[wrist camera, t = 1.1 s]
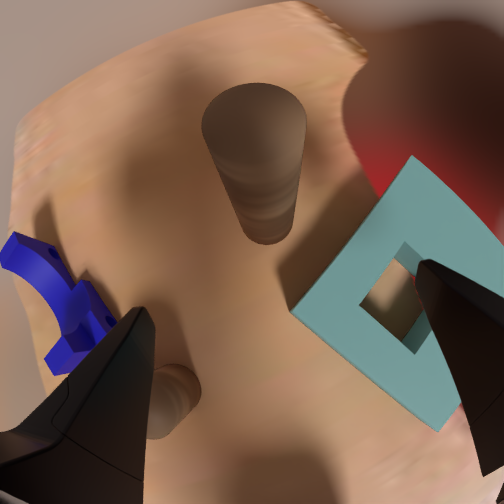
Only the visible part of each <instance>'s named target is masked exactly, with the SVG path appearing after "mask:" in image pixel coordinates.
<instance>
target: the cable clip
mask: <svg viewBox="0 0 504 504" xmlns="http://www.w3.org/2000/svg"><path fill="white" fill-rule="evenodd" d="M0 263H1V266H2V268H4V269H7V270H10V271H12V272H14V273H15V274H17V275H19V276H20V277H22V278H23V279H25V280H26V281H27V282H29V283H30V284H31V285H32V286H33V287H34V288H35V289H36V290H37V291H38V292H39V293H40V294H41V295H42V296H43V298H44V299H45V300H46V301H47V303H48V304H49V306H50V307H51V309H52V310H53V312H54V314H55V316H56V318H57V320H58V323H59V326H60V330H61V336H62V337H61V338H60V339H59V340H58V342H57V343H56V344H55V345H54V347H53V348H52V349H51V350H50V352H49V353H48V354H47V355H46V357H45V358H44V360H45V362H46V363H47V365H48V367H49V368H50V370H51V372H52V373H53V375H54V376H57V375H61V374H66V373H71V372H72V370H73V369H74V368H75V367H76V366H77V365H78V364H79V363H80V362H81V361H82V360H83V359H84V358H85V356H86V355H87V354H88V353H89V352H90V351H91V350H92V349H93V348H94V347H95V346H96V345H97V344H98V343H99V342H100V341H101V340H102V338H103V337H104V336H105V335H106V334H107V333H108V332H109V331H110V330H111V329H112V328H113V327H114V326H115V325H116V324H117V321H116V320H115V318H114V317H113V315H112V314H111V313H110V311H109V310H108V308H107V307H106V305H105V304H104V302H103V301H102V300H101V298H100V297H99V295H98V293H97V292H96V290H95V289H94V287H93V286H92V284H91V283H90V281H85V280H80V281H79V283H78V284H77V285H75V283H74V281H73V280H72V278H71V276H70V275H69V273H68V271H67V269H66V267H65V266H64V264H63V262H62V260H61V258H60V256H59V254H58V253H57V251H56V249H55V247H54V246H52V245H50V244H47V243H44V242H41V241H39V240H36V239H33V238H31V237H28V236H25V235H23V234H20V233H18V232H15V231H14V232H13V233H12V235H11V236H10V238H9V239H8V241H7V242H6V244H5V245H4V247H3V249H2V250H1V252H0Z"/></svg>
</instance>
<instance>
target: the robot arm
mask: <svg viewBox="0 0 504 504" xmlns="http://www.w3.org/2000/svg"><path fill="white" fill-rule="evenodd" d="M415 286H416V289H417V292H418V294H419V297H420V299H421V302H422V305H423V308H424V310H425V313H426V316H427V319H428V321H429V324H430V326H431V328H432V331H433V333H434V335H435V337H436V339H437V342H438V344H439V346H440V348H441V351H442V353H443V355H444V358H445V360H446V363H447V365H448V368H449V370H450V373H451V375H452V378H453V380H454V383H455V386H456V388H457V391H458V394H459V396H460V399H461V402H462V405H463V408H464V411H465V414H466V417H467V420H468V423H469V426H470V430H471V434H472V437H473V441H474V444H475V448H476V452H477V456H478V460H479V464H480V468H481V472H482V476H483V477H484V476H486V475H488V474H490V473H492V472H493V471H495V470H497V469H498V468H500V467H502V466H504V298H503V297H502V296H500V295H498V294H496V293H495V292H493V291H491V290H489V289H488V288H486V287H484V286H482V285H480V284H478V283H477V282H475V281H473V280H471V279H469V278H467V277H465V276H464V275H462V274H460V273H458V272H456V271H454V270H452V269H450V268H448V267H446V266H444V265H442V264H440V263H438V262H436V261H434V260H432V259H425V260H421V261H420V262H419V263H418V268H417V273H416V277H415ZM154 354H155V325H154V322H153V320H152V318H151V317H150V315H149V313H148V311H147V309H146V308H145V307H143V306H140V307H133V308H132V309H131V310H130V311H129V312H128V313H127V314H126V315H125V316H124V317H123V318H122V319H121V320H120V321H119V322H118V323H117V324H116V325H115V326H114V327H113V328H112V329H111V330H110V331H109V332H108V333H107V334H106V335H105V336H104V337H103V338H102V340H101V341H100V342H99V343H98V344H97V345H96V346H95V347H94V348H93V349H92V350H91V351H90V352H89V353H88V354H87V355H86V356H85V358H84V359H83V360H82V361H81V362H80V363H79V364H78V365H77V366H76V367H75V368H74V369H73V370H72V372H71V373H70V374H69V375H68V377H66V378H65V379H64V380H63V381H62V383H61V384H60V385H59V386H58V387H57V388H56V389H55V390H54V391H53V392H52V393H51V394H50V395H49V396H48V397H47V398H46V399H45V400H44V401H43V402H42V403H41V404H40V405H39V406H38V407H37V408H36V409H35V410H34V411H33V412H32V413H31V414H30V415H29V416H28V417H27V418H26V419H25V420H24V421H23V422H22V423H21V424H20V425H18V426H17V427H16V428H13V429H11V430H9V431H5V432H0V504H143V488H144V482H143V481H144V465H145V450H146V437H147V426H148V416H149V407H150V398H151V390H152V382H153V374H154ZM496 503H497V504H504V483H503V486H502V488H501V490H500V493H499V495H498V497H497V500H496Z"/></svg>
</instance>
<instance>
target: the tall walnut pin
mask: <svg viewBox="0 0 504 504" xmlns="http://www.w3.org/2000/svg"><path fill="white" fill-rule="evenodd" d="M306 124H307V118H306V113H305V110H304V108H303V106H302V104H301V103H300V101H299V100H298V99H297V98H296V97H295V96H294V95H293V94H292V93H290V92H289V91H287V90H285V89H283V88H281V87H278V86H275V85H271V84H266V83H248V84H242V85H238V86H235V87H232V88H230V89H228V90H226V91H224V92H223V93H221V94H220V95H218V96H217V97H216V98H215V99H214V100H213V101H212V102H211V103H210V104H209V106H208V107H207V109H206V110H205V113H204V115H203V119H202V133H203V136H204V139H205V141H206V144H207V146H208V148H209V151H210V153H211V155H212V158H213V160H214V163H215V165H216V167H217V170H218V172H219V174H220V177H221V179H222V181H223V184H224V186H225V189H226V191H227V193H228V196H229V198H230V200H231V203H232V205H233V208H234V210H235V212H236V215H237V217H238V219H239V222H240V224H241V226H242V229H243V231H244V233H245V234H246V236H247V237H248V238H249V239H251V240H252V241H254V242H256V243H258V244H263V245H270V244H275V243H278V242H280V241H281V240H283V239H284V238H285V237H286V236H287V235H288V234H289V232H290V230H291V228H292V225H293V219H294V212H295V205H296V199H297V192H298V185H299V178H300V171H301V164H302V156H303V149H304V141H305V133H306Z"/></svg>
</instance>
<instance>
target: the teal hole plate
mask: <svg viewBox="0 0 504 504" xmlns="http://www.w3.org/2000/svg"><path fill="white" fill-rule="evenodd" d="M393 257H394V258H395V259H396V260H397V261H398V262H399V263H400V264H401V265H402V266H404V267H405V268H406V269H407V270H408V271H409V272H410V273H411V274H412V275H413V276H414V277H416V273H417V268H418V263H419V262H420V261H421V260H425V259H432V260H434V261H436V262H438V263H440V264H442V265H444V266H446V267H448V268H450V269H452V270H454V271H456V272H458V273H460V274H462V275H464V276H465V277H467V278H469V279H471V280H473V281H475V282H477V283H478V284H480V285H482V286H484V287H486V288H488V289H489V290H491V291H493V292H495V293H496V294H498V295H500V296H502V297H503V298H504V246H503V245H502V244H501V243H500V242H499V240H498V239H497V238H496V237H495V236H494V235H493V233H492V232H491V231H490V230H489V229H488V228H487V227H486V225H485V224H484V223H483V222H482V221H481V220H480V219H479V218H478V217H477V216H476V214H475V213H474V212H473V211H472V210H471V209H470V208H469V207H468V206H467V205H466V204H465V203H464V202H463V201H462V200H461V199H460V198H459V197H458V196H457V195H456V194H455V193H454V192H453V191H452V190H451V189H450V188H449V187H448V186H446V185H445V184H444V183H443V182H442V181H441V180H440V179H439V178H438V177H437V176H436V175H435V174H433V173H432V172H431V171H430V170H429V169H428V168H427V167H425V166H424V165H423V164H422V163H421V162H420V161H418V160H417V159H415V157H414V156H411V157H410V158H409V160H408V161H407V162H406V163H405V165H404V166H403V167H402V169H401V170H400V171H399V172H398V174H397V175H396V177H395V178H394V179H393V181H392V182H391V184H390V185H389V186H388V188H387V189H386V191H385V192H384V193H383V195H382V196H381V197H380V199H379V200H378V201H377V203H376V204H375V206H374V207H373V208H372V210H371V211H370V212H369V214H368V215H367V216H366V218H365V219H364V220H363V222H362V223H361V224H360V226H359V227H358V228H357V229H356V231H355V232H354V233H353V235H352V236H351V237H350V239H349V240H348V241H347V242H346V244H345V245H344V246H343V248H342V249H341V250H340V251H339V253H338V254H337V255H336V256H335V258H334V259H333V260H332V261H331V263H330V264H329V265H328V266H327V267H326V269H325V270H324V271H323V272H322V274H321V275H320V276H319V277H318V278H317V280H316V281H315V282H314V283H313V285H312V286H311V287H310V288H309V289H308V290H307V292H306V293H305V294H304V295H303V296H302V298H301V299H300V300H299V301H298V302H297V303H296V305H295V306H294V307H293V308H292V309H291V310H290V313H291V314H292V315H293V316H295V317H296V318H297V319H298V320H299V321H300V322H302V323H303V324H304V325H305V326H306V327H308V328H309V329H310V330H311V331H312V332H313V333H315V334H316V335H317V336H318V337H319V338H321V339H322V340H323V341H324V342H325V343H326V344H328V345H329V346H330V347H331V348H332V349H334V350H335V351H336V352H337V353H338V354H340V355H341V356H342V357H343V358H344V359H346V360H347V361H348V362H349V363H350V364H352V365H353V366H354V367H355V368H356V369H358V370H359V371H360V372H361V373H363V374H364V375H365V376H366V377H367V378H369V379H370V380H371V381H372V382H373V383H375V384H376V385H377V386H378V387H380V388H381V389H382V390H383V391H385V392H386V393H387V394H388V395H389V396H391V397H392V398H393V399H394V400H396V401H397V402H398V403H399V404H401V405H402V406H403V407H404V408H406V409H407V410H408V411H409V412H411V413H412V414H413V415H414V416H416V417H417V418H418V419H419V420H421V421H422V422H424V423H425V424H426V425H428V426H429V427H431V428H432V429H434V430H435V431H436V432H439V430H440V429H441V428H442V427H443V426H444V424H445V423H446V422H447V420H448V419H449V418H450V416H451V415H452V414H453V412H454V411H455V410H456V408H457V407H458V406H459V404H460V403H461V399H460V396H459V394H458V391H457V388H456V386H455V383H454V380H453V378H452V375H451V373H450V370H449V368H448V365H447V363H446V360H445V358H444V355H443V353H442V351H441V348H440V346H439V344H438V342H437V339H436V337H435V335H434V333H433V331H432V328H431V326H430V324H429V321H428V319H427V316H426V313H425V310H423V311H422V313H421V314H420V316H419V317H418V319H417V320H416V322H415V323H414V325H413V326H412V327H411V329H410V330H409V332H408V333H407V335H406V336H405V337H404V339H403V340H402V341H401V342H400V341H399V340H398V339H397V338H395V337H394V336H393V335H392V334H391V333H390V332H389V331H388V330H386V329H385V328H384V327H383V326H382V325H381V324H380V323H379V322H377V321H376V320H375V319H374V318H373V317H372V316H371V315H369V314H368V313H367V312H366V311H365V310H364V309H363V308H361V307H360V306H359V304H360V303H361V302H362V300H363V299H364V298H365V296H366V295H367V294H368V292H369V291H370V290H371V288H372V287H373V286H374V284H375V283H376V281H377V280H378V279H379V277H380V276H381V275H382V273H383V272H384V270H385V269H386V268H387V266H388V265H389V263H390V262H391V260H392V259H393Z"/></svg>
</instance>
